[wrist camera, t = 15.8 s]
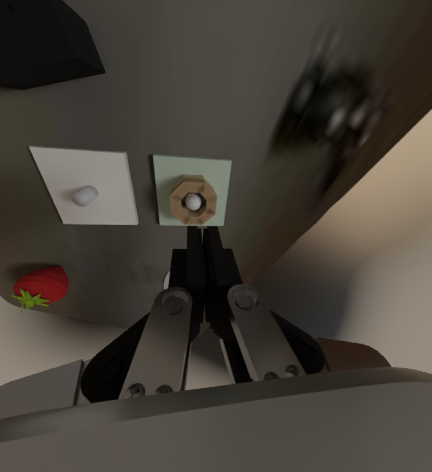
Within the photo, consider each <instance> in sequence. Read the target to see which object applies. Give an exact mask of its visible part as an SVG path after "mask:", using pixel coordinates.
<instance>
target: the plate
mask: <svg viewBox="0 0 432 472" xmlns="http://www.w3.org/2000/svg"><path fill="white" fill-rule="evenodd" d="M153 161H154V171H155V181H156V191H157V200H158V210H159V220H160V225H184V224H183V223H182V222H181V221H180V220H178V219H177V218H176V217H175V216H174V215H173V214H171V205H170V193H171V189H172V186H173V185H174V184H175V183H176V182H177V181H178V180H179V179H180V178H181V177H182V176H183V175H184V174H188V175H203V176H204V177H205V179H206V180H207V181H208V182H209V183H210V184H211V185H212V186H213V188H214V189H215V192H216V195H217V204H216V214H215V215H214V216H213V217H211V218H210V219H209V220H208V221H206V222H205V223H204V224H203V225H188V226H223V224H224V216H225V209H226V201H227V193H228V186H229V178H230V170H231V162H232V161H231V160H228V159H214V158H200V157H186V156H172V155H158V154H154V155H153ZM182 200H183V201H184V202H185V203H186V206H187V207H188V208H189V209H190V210H197V209H198V208H199V207H200V205H201V203H202V202H203V201H205V198H204V197H203V196H202V195H201V194H200V193H191V192H188V193H187V194H186V195H185V196H184V197H183V198H182Z"/></svg>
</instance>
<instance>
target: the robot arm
mask: <svg viewBox="0 0 432 472" xmlns="http://www.w3.org/2000/svg"><path fill="white" fill-rule="evenodd" d="M204 305H205V317H206V322H210V328H211V329H213V332H214V333H215V334H216V335H218V336H219V337H220V343H221V347H222V350H223V354H224V358H225V361H226V365H227V368H228V372H229V375H230V379H231V382H232V384H231V385H223V386H217V387H209V388H200V389H194V390H185V389H186V381H187V374H188V365H189V359H190V351H191V342H192V341H193V340H194V339H195V338H196V336H197V335H198V334H199V331H200V323H203V314H204ZM0 472H432V374H429V373H425V372H422V371H418V370H413V369H407V368H397V367H391V366H390V364H389V363H388V361H387V360H386V359H385V357H384V356H382V355H381V354H380V353H379V352H378V351H377V350H375V349H373V348H372V347H370V346H367V345H364V344H359V343H352V342H346V341H340V340H333V339H328V338H322V337H318V338H317V339H314V338H312V337H311V336H310V335H308V334H307V333H306V332H304V331H302V330H301V329H299V328H298V327H296V326H295V325H293V324H292V323H290V322H288V321H287V320H285V319H284V318H282V317H281V316H279V315H277V314H276V313H274V312H273V311H271V310H270V309H268V307H267V305H266V303H265V301H264V300H263V298H262V296H261V295H260V293H259V292H258V291H257V290H256V289H255V288H253V287H251V286H249V285H245V284H243V283H242V280H241V277H240V274H239V270H238V267H237V264H236V261H235V258H234V255H233V252H232V249H223V247H222V243H221V239H220V235H219V231H218V227H217V226H207V229H204V231H203V244H202V234H201V229H197V226H187V249H173V252H172V260H171V268H170V276H169V284H168V288H167V289H165V290H163V291H161V292H160V293H159V294H158V295H157V297H156V299H155V300H154V303H153V306H152V309H151V311H150V312H149V313H148V314H147V315H145V316H144V317H143V318H142V319H140V320H139V321H138V322H137V323H135V324H134V325H133V326H131V327H130V328H129V329H128V330H127V331H125V332H124V333H123V334H121V335H120V336H119V337H118V338H116V339H115V340H114V341H113V342H111V343H110V344H109V345H108V346H106V347H105V348H104V349H103V350H101V351H100V352H99V353H98V354H97V355H96V356H94V357H93V359H90V360H87V361H83V360H78V361H75V362H71V363H69V364H65V365H62V366H59V367H56V368H52V369H49V370H46V371H43V372H40V373H36V374H33V375H30V376H27V377H24V378H21V379H17V380H14V381H11V382H9V383H6V384H4V385H2V386H0Z"/></svg>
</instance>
